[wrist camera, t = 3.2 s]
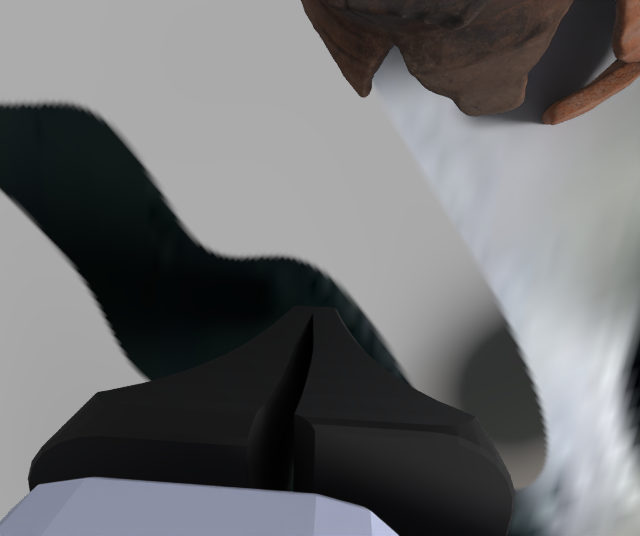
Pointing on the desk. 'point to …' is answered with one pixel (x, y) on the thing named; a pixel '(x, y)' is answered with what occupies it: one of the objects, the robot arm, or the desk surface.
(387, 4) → the orange curved piece
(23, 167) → the desk surface
